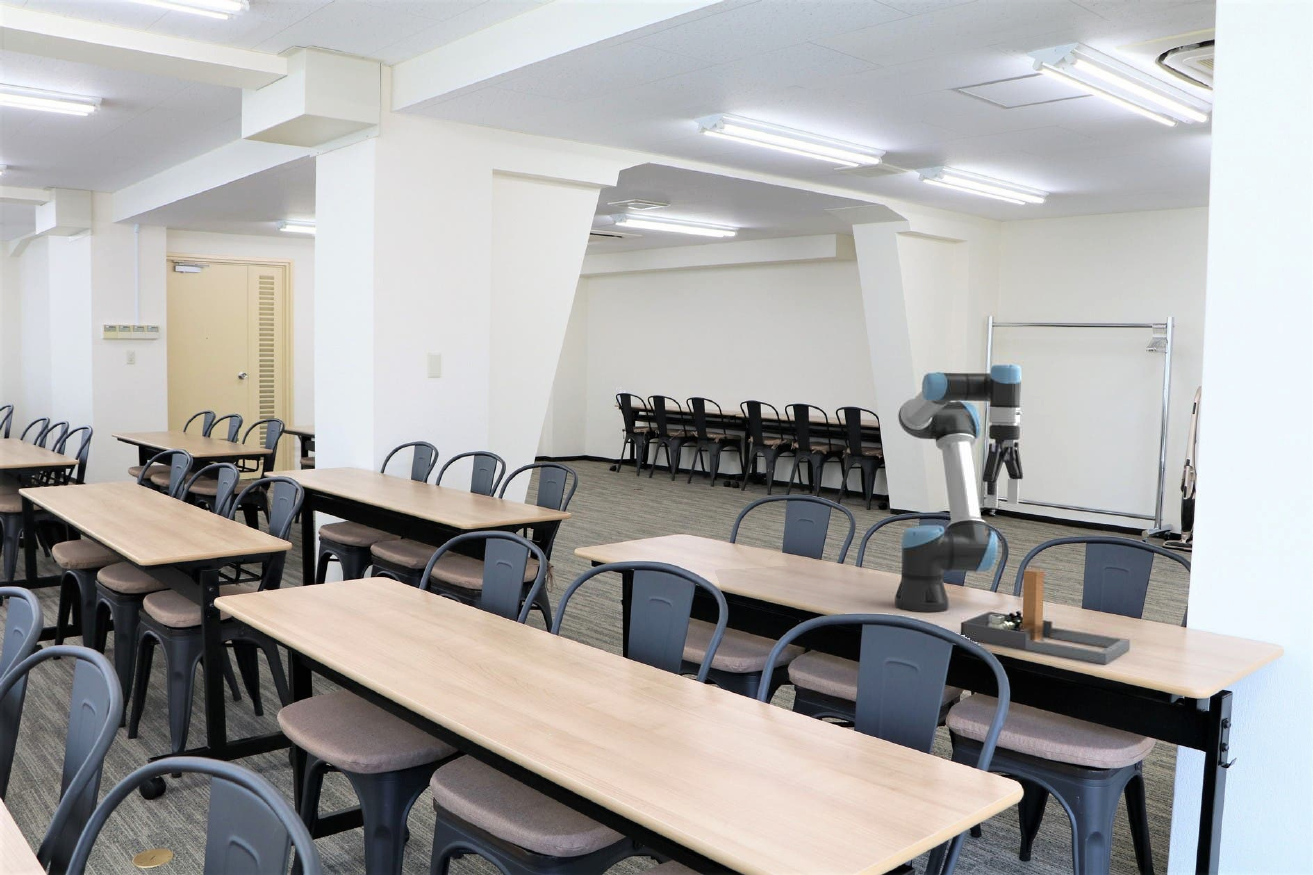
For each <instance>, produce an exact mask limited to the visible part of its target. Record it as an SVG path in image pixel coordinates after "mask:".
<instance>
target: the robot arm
mask: <svg viewBox="0 0 1313 875" xmlns="http://www.w3.org/2000/svg"><path fill="white" fill-rule="evenodd" d="M1022 381H1023V378H1022V368H1021V367H1020V366H1019V365H1018V364H995V365H992V366H991V367H990V373H989V372H987V373H985V372H981V373H980V372H976V373H975V372H974V373H973V372H972V373H971V372H939V371H937V372H931V373H930V372H928V373H925V375H924V376H923V378H922V383H921V391H920V392H919V393H918V394H917V395H916V396H915V397H914V398H910V399H908V400H907V401H905V402H904V403H903V404H902V406H901V407H900V409H899V411H898V415H897V417H898V422H899V424H900V427H901V429H902V430H903V431H904V432H906V433H907V434H908V435H910V436H911V437H914V438H917V439H921V440H935V446H936V448H938V449H939V450H940V451H941V452H942V453H941V454H942V460H943V461H942V462H943V466H944V467H943V470H944V476H945V484H946V492H947V499H948V507H949V515H950V516H949V517H950V522H949V523H948V525H947V526H946V530H945V527H944V526H942V525H937V524H933V525H932V524H927V525H918V526H917V525H916V526H912V527H909V528H907V529H905V530H904V531H903V533H902V539H901V578H900V582H899V585H898V588H897V590H896V593H895V596H894V606H895V607H897V608H899V609H902V610H907V611H911V612H922V613H923V612H925V613H928V612H929V613H932V612H935V613H936V612H944V611H946V610H947V611H948V609H949V608H950V607H949V601H950V600H949V597H948V595H947V590H946V587H945V584H944V580H943V578H944V572H973V573H977V572H988V571H990V570H991V569H992V568H993V567H994V566H995V564H996V560H997V555H998V548H999V539H998V536H997V533H996V531H993V530H989V525H988V522H987V521H986V520H984V519H983V518H982V515H981V513H982V512H981V508H980V507H981V506H980V500H979V493H978V486H977V480H976V472H975V466H974V465H975V464H974V463H975V462H974V457H973V450H972V447H973V446H974V445H975V443H976V440H977V439H978V438H979V436H980V434H981V427H980V426H981V419H980V415H979V412H978V409H977V408H976V406H975V405H974V404H972V403H971V402H989V415H988V416H989V418H988V419H989V420H988V421H989V423H990V426H989V425H988V427H989V428H988V429H989V430H988V437H989V439H990V440H994V443H991V442H990V443H989V444H988V453H987V457H986V461H985V462H986V463H985V465H984V471H983V475H982V483H983V482H984V483H985V482H986V498H985V499H986V502H985V503H986V504H985V506H986V507H985V508H988V509H989V508H990V509H991V508H992V509H998V506H999V482H998V478H999V476H1000V472H1001V470H1002V467H1003V464H1004V465H1005V468H1006V471H1007V474H1008V477H1009V478H1007V488H1006V489H1007V490H1006V491H1007V497H1006V503H1007V504H1009V505H1011V504H1013V505H1018V504H1019V493H1020V488H1019V486H1020V480H1023V478H1024V476H1023V475H1024V474H1023V467H1022V461H1021V456H1020V450H1019V448H1020V445H1019V444H1020V443H1019V442H1018V441H1017V440H1019V439H1020V434H1021V433H1020V431H1021V426H1019V425H1018V424H1020V423H1021V416H1022V414H1023V412H1022V411H1021V399H1022V398H1021V397H1022V396H1021V394H1022Z"/></svg>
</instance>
